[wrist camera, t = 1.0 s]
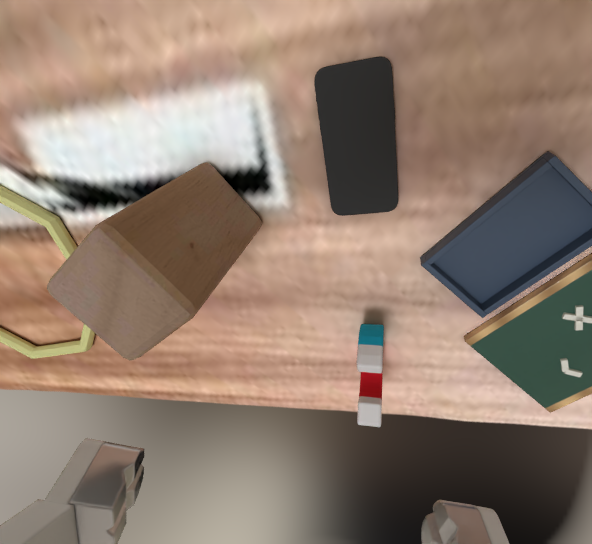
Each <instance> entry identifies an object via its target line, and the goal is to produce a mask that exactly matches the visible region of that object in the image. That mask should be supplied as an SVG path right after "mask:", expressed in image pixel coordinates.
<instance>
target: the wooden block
mask: <svg viewBox="0 0 592 544" xmlns="http://www.w3.org/2000/svg"><path fill="white" fill-rule="evenodd" d="M261 225H262V222H261V220H260V218H259V217H258V216H257V215H256V213H255V212H254V211H253V210H252V209H251V208H250V207H249V206H248V205H247V203H246V202H245V201H244V200H243V199H242V198H241V197H240V196H239V195H238V194H237V192H236V191H235V190H234V189H233V188H232V187H231V186H230V185H229V184H228V183H227V181H226V180H225V179H224V178H223V177H222V176H221V175H220V174H219V173H218V171H217V170H216V169H215V168H214V167H213V166H212V165H210V164H209V163H203V164H200V165H198V166H196V167H195V168H193V169H191V170H190V171H188V172H186V173H184V174H183V175H181V176H179V177H178V178H176V179H174V180H172V181H171V182H169V183H167V184H166V185H164V186H162V187H161V188H159V189H157V190H155V191H154V192H152V193H150V194H149V195H147V196H145V197H143V198H142V199H140V200H138V201H137V202H135V203H133V204H131V205H130V206H128V207H126V208H125V209H123V210H121V211H119V212H118V213H116V214H114V215H113V216H111V217H109V218H107V219H106V220H104V221H102V222H101V223H99V224H97V225H96V226H95V227H94V228H93V229H92V231H91V232H90V233H89V234H88V235H87V237H86V238H85V239H84V240H83V241H82V242H81V244H80V245H79V246H78V247H77V248H76V249H75V251H74V252H73V253H72V254H71V255H70V256H69V258H68V259H67V260H66V261H65V262H64V264H63V265H62V266H61V267H60V268H59V269H58V271H57V272H56V273H55V274H54V275H53V276H52V278H51V279H50V281H49V283H48V285H47V289H48V291H49V293H50V295H51V296H53V297H54V298H55V299H56V300H57V301H58V302H60V303H61V304H62V305H63V306H64V307H65V308H66V309H68V310H69V311H70V312H71V313H72V314H73V315H75V316H76V317H77V318H78V319H79V320H80V321H82V322H83V323H84V324H85V325H86V326H87V327H89V328H90V329H91V330H92V331H93V332H94V333H96V334H97V335H98V336H99V337H100V338H101V339H103V340H104V341H105V342H106V343H107V344H108V345H110V346H111V347H112V348H113V349H114V350H115V351H117V352H118V353H119V354H120V355H121V356H122V357H123V358H126V359H128V360H134V359H136V358H139V357H141V356H142V355H143V354H145V353H146V352H147V351H149V350H150V349H151V348H153V347H154V346H155V345H157V344H158V343H160V342H161V341H162V340H164V339H165V338H166V337H168V336H169V335H170V334H172V333H173V332H174V331H176V330H177V329H178V328H180V327H181V326H182V325H184V324H185V323H186V322H188V321H189V320H190V319H192V318H193V317H194V316H195V314H196V313H197V312H198V310H199V309H200V308H201V306H202V305H203V304H204V302H205V301H206V300H207V298H208V297H209V296H210V294H211V293H212V292H213V290H214V289H215V288H216V286H217V285H218V284H219V282H220V281H221V280H222V278H223V277H224V276H225V274H226V273H227V272H228V270H229V269H230V268H231V266H232V265H233V264H234V262H235V261H236V260H237V258H238V257H239V256H240V254H241V253H242V252H243V250H244V249H245V248H246V246H247V245H248V244H249V243H250V241H251V240H252V239H253V237H254V236H255V235H256V233H257V232H258V231H259V229H260V227H261Z"/></svg>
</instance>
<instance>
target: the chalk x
mask: <svg viewBox="0 0 592 544" xmlns="http://www.w3.org/2000/svg"><path fill="white" fill-rule="evenodd" d="M583 308H584V307H583V306H582V305H577V306H575V314H572V313H566V312H564V313H563V315H562V318H563V319H566V320H573V321H575V324H574V329H575V330H576V331H577V330H583V322H586V323H592V316H585V315H583Z"/></svg>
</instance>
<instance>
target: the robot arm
mask: <svg viewBox="0 0 592 544" xmlns="http://www.w3.org/2000/svg"><path fill="white" fill-rule="evenodd" d="M143 458H144V449H143V448H137V447H131V446H126V445H120V444H114V443H109V442H105V441H100V440H94V439H88V438H86V439H85V440H84V441H82V442H81V443H80V445H79V446H78V448H77V449H76V451H75V453H74V454H73V456H72V457H71V459H70V460H69V462H68V464H67V465H66V467H65V468H64V470H63V471H62V473H61V475H60V476H59V478H58V479H57V481H56V483H55V484H54V486H53V487H52V489H51V491H50V492H49V494H48V495H47V497H46V498H45V500H40V499H38V500H37V501H35V502H34V503H32V504H31V505H29V506H28V507H27V508H25V509H24V510H22V511H21V512H19V513H18V514H16V515H15V516H13V517H12V518H10V519H9V520H7V521H6V522H4V523H3V524H2V525H0V544H118V541H119V539H120V537H121V534H122V531H123V529H124V527H125V525H126V511H127V510H128V509H129V508H131V507H132V506H133V505H134V503H135V501H136V498H137V496H138V493H139V489H140V487H141V483H142V479H143V474H144V467H143V466H142V465H141V463H142V461H143ZM433 510H434V513H431V514H429V515H427V516H426V518H425V520H424V521H423V523H422V530H421V538H422V544H509V542H508V540H507V537H506V535H505V532H504V530H503V528H502V525H501V523H500V520H499V518H498V516H497V514H496V513H495V511H494V510H492V509H490V508H485V507H478V506H473V505H468V504H462V503H456V502H449V501H443V500H439V501H436V502H435V504H434V505H433Z"/></svg>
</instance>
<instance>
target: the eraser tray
mask: <svg viewBox="0 0 592 544" xmlns="http://www.w3.org/2000/svg"><path fill="white" fill-rule="evenodd" d="M591 246H592V192H591V191H590V190H589V189H588V188H587V187H586V186H585V185H584V184H583V183H582V182H581V181H580V180H579V179H578V178H577V177H576V176H575V175H574V174H573V173H572V172H571V171H570V170H569V169H568V168H567V167H566V166H565V165H564V164H563V163H562V162H561V161H560V160H559V159H558V158H557V157H556V156H555V155H553V154H552V153H550V152H549V151H547V152H546V153H545V154H543V155H542V156H541V157H540V158H539V159H537V160H536V161H535V162H534V163H533V164H531V165H530V166H529V167H528V168H527V169H525V170H524V171H523V172H522V173H521V174H519V175H518V176H517V177H516V178H515V179H514V180H512V181H511V182H510V183H509V184H508V185H506V186H505V187H504V188H503V189H502V190H500V191H499V192H498V193H497V194H496V195H494V196H493V197H492V198H491V199H490V200H488V201H487V202H486V203H485V204H484V205H482V206H481V207H480V208H479V209H478V210H476V211H475V212H474V213H473V214H472V215H470V216H469V217H468V218H467V219H466V220H464V221H463V222H462V223H461V224H460V225H458V226H457V227H456V228H455V229H454V230H452V231H451V232H450V233H449V234H448V235H446V236H445V237H444V238H443V239H442V240H441V241H439V242H438V243H437V244H436V245H435V246H433V247H432V248H431V249H430V250H429V251H427V252H426V253H425V254H424V255H423V256H421V257H420V259H421V266H423V267H424V268H425V269H426V270H427V271H428V272H430V273H431V274H432V275H433V276H434V277H435V278H437V279H438V280H439V281H440V282H441V283H442V284H444V285H445V286H446V287H447V288H448V289H449V290H450V291H452V292H453V293H454V294H455V295H456V296H457V297H459V298H460V299H461V300H462V301H463V302H464V303H466V304H467V305H468V306H469V307H470V308H471V309H473V310H474V311H475V312H476V313H477V314H478V315H480V316H481V317H482V318H483V317H485V316H486V315H487V314H489V313H491V312H492V311H494V310H495V309H497V308H498V307H500V306H501V305H503V304H504V303H506V302H507V301H509V300H510V299H512V298H513V297H515V296H516V295H518V294H519V293H521V292H522V291H524V290H525V289H527V288H528V287H530V286H531V285H533V284H535V283H536V282H538V281H539V280H541V279H542V278H544V277H545V276H547V275H548V274H550V273H551V272H553V271H554V270H556V269H557V268H559V267H560V266H562V265H563V264H565V263H566V262H568V261H569V260H571V259H572V258H574V257H576V256H577V255H579V254H580V253H582V252H583V251H585V250H586V249H588V248H589V247H591Z"/></svg>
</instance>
